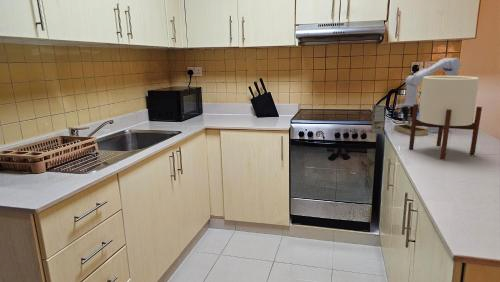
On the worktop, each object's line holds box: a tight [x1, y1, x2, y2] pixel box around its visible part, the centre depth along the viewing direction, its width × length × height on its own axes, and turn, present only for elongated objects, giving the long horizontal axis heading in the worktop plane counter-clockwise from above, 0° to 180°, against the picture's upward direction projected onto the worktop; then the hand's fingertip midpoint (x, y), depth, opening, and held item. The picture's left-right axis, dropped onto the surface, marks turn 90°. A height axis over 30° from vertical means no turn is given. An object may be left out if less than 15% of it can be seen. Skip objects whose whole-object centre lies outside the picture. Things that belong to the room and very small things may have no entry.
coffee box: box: [371, 104, 387, 135], centre depth 208 cm, size 9×6×16 cm
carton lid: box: [394, 115, 429, 130], centre depth 206 cm, size 10×18×5 cm, turn 12°
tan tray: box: [393, 124, 429, 137], centre depth 207 cm, size 10×18×3 cm, turn 11°
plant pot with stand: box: [408, 75, 483, 160], centre depth 162 cm, size 22×22×36 cm
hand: (408, 119), depth 205 cm, fingers open, 3 cm apart
